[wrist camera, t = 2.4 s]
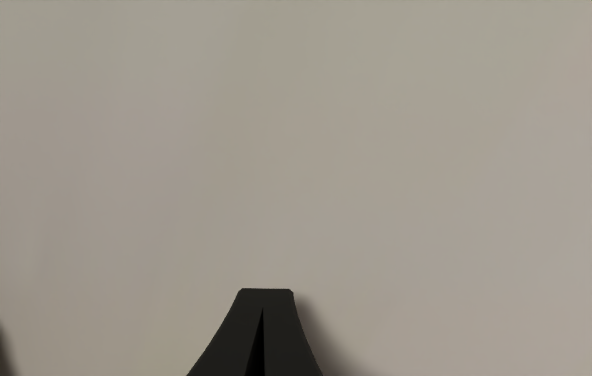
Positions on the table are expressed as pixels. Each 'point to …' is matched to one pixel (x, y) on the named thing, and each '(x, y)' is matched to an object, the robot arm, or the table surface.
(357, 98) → the table surface
